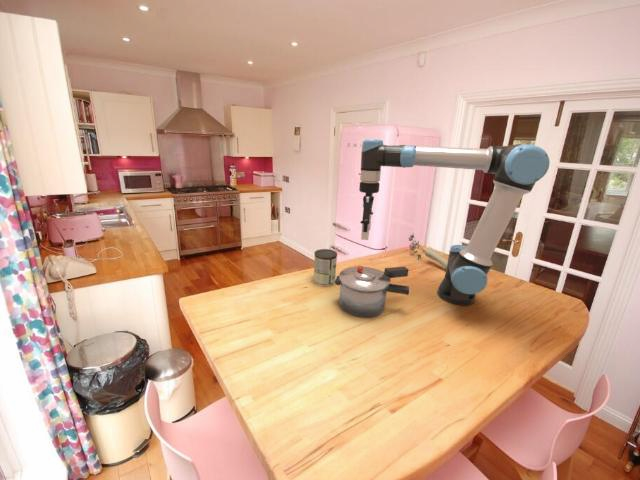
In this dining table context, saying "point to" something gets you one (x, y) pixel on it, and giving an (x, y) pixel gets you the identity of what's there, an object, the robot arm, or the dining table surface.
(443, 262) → the flower vase
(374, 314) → the pot
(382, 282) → the lid
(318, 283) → the coffee can
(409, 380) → the dining table surface
